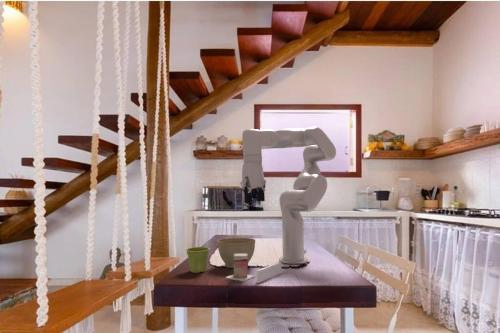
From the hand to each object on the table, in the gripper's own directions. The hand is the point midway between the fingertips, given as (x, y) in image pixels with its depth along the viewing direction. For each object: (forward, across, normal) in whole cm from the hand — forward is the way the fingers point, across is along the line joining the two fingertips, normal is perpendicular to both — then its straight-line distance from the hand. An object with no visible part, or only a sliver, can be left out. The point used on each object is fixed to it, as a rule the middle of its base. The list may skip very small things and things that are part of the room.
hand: (254, 202), depth 133 cm
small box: (+26, +13, +1) cm, 29 cm away
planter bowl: (+27, 0, -11) cm, 29 cm away
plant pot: (+26, +14, -19) cm, 36 cm away
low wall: (+27, +8, +10) cm, 30 cm away
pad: (+26, +14, +1) cm, 30 cm away
